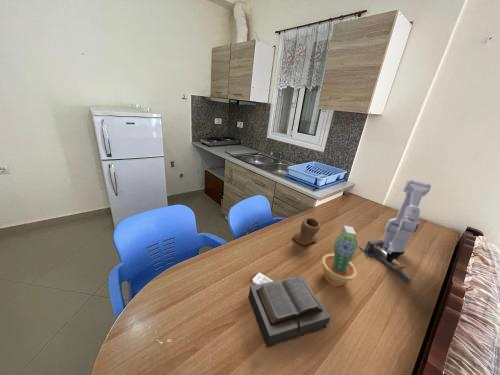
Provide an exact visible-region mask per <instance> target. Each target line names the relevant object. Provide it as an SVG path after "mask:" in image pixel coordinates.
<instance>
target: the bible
mask: <svg viewBox="0 0 500 375" xmlns="http://www.w3.org/2000/svg"><path fill="white" fill-rule="evenodd" d="M248 291H249V293H248V296H247V297H248V300H249V303H250V305H251V308H252V312H253V314H254V317H255V319H256V323H257V326H258V328H259V331H260V335H261V336H262V339H264V340H263V342H264V345H265V344H266V345H265V347H266V348H267V349H268V348H271V347H273V345H274V346H276V345H277V344H281V343H285V342H288V341H291V340H294V339H298V338H299V337H303V336H305V335H307V334H311V333H317V332H319V331H320V330H323V329H326V328H328V326H327V325H328V324H329V322H330V320H331V319H332V317H331V315H330V313H329V312H328V311H327V309H326V308H325V306H324V305H323V304H322V302H321V300H319V298H318V296H317V295H316V294H315V292H314V291H313V289H312V288H311V286H310V285H309V284H308V282H307V281H306V280H305V278H304V277H303V275H299V276H293V277H287V278H283V279H282V278H281V279H277V280H274V281H269V282H264V283H258V284H254V285H253V284H252V285H250V286H249V290H248ZM280 342H281V343H280ZM276 343H277V344H276ZM275 344H276V345H275Z"/></svg>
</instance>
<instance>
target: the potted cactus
mask: <svg viewBox="0 0 500 375" xmlns="http://www.w3.org/2000/svg"><path fill="white" fill-rule="evenodd" d="M340 234H341V233H340ZM340 234H339V235H338V236H337V237H336V240H335V241H334V246H333V253H327V254H325V255H323V256H322V260H321V262H322V263H321V264H322V267H323V272H324V278H325V280H326V281H327V282H328V283H329V284H331V285H333V286H336V287H342V286H343V285H344V284H347V282H349V281H352V280H353V279H355V277H357V276H358V273H357V272H358V271H357V268H356V267H355V265H354V264H353V263H352V262H351V261H350V260H352V258H353V257H354V255H355V253H356V252H357V247H358V245H359V244H358V241H357V238H356V237H355V236H354V235H351V233H348V234H347V233H346V232H345V233H343V234H341V235H340Z"/></svg>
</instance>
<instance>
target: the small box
mask: <svg viewBox="0 0 500 375" xmlns="http://www.w3.org/2000/svg"><path fill="white" fill-rule="evenodd" d="M345 232H346V233H347V234H348V233H351V235H354V236H355V238H356V237H357V233H356V230H355V229H354V227H353V226H349V225H342V229H341V231H340V234H339V236H340V235H341V234H343V233H345Z"/></svg>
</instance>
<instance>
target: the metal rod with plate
mask: <svg viewBox="0 0 500 375" xmlns="http://www.w3.org/2000/svg"><path fill="white" fill-rule="evenodd" d="M374 248H375V249H376V250H377V251H379V252H380V253H381V254H382V255H383V256H384V257H387V252H386V250H384V249H383V247H382V248H380V247H379V246H378V245H377V244H376V245H374ZM391 263H393V264H394V266H393V267H394V268H395V269H396V270H399V269H401V270H405V269H406V268H407V265H406V264H405V263H400V262H398V261H397V259H396V260H395V259H393V261H392V262H391Z"/></svg>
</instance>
